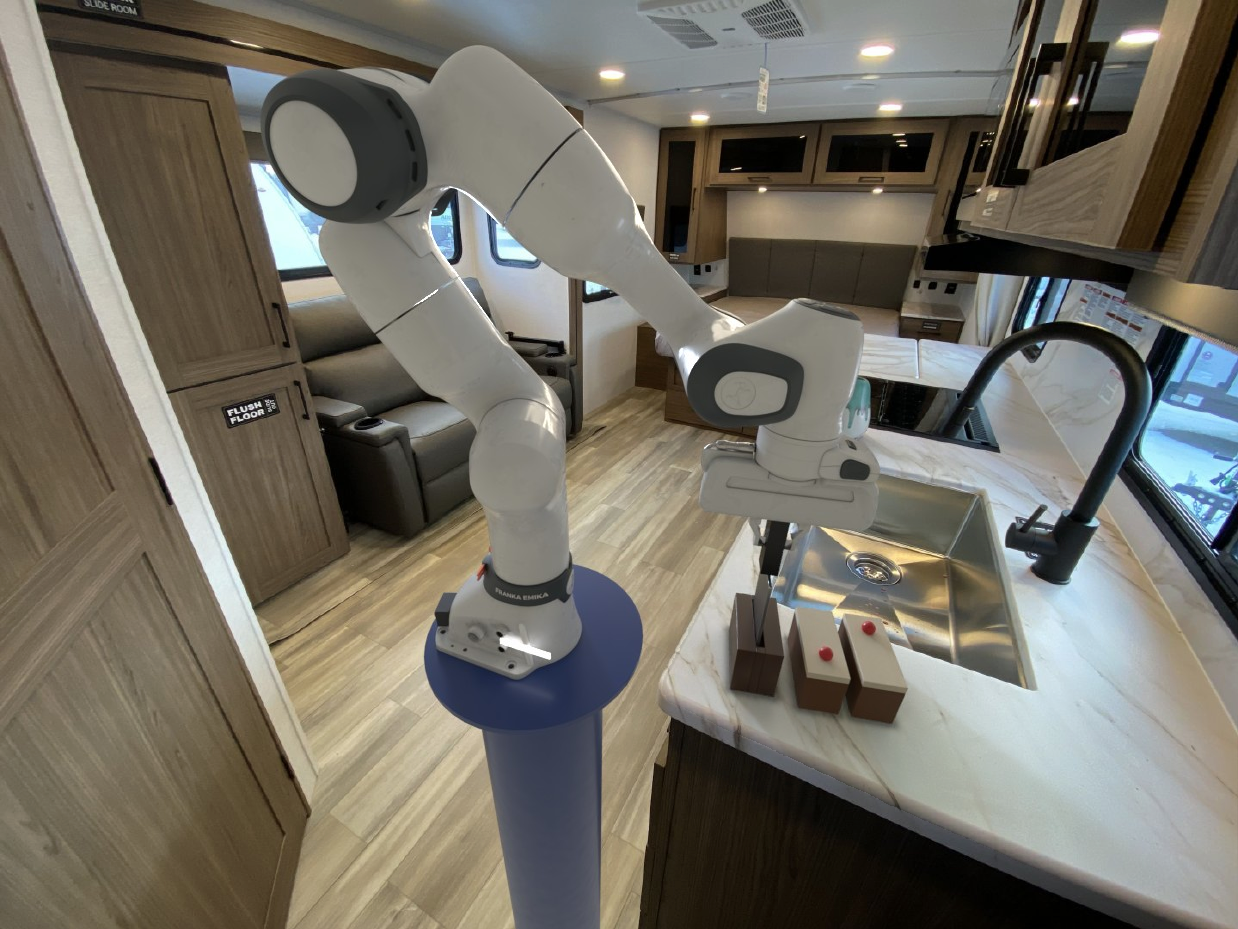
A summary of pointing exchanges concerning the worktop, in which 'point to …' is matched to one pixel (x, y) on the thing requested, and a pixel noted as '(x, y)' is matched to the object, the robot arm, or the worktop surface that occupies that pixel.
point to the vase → (858, 410)
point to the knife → (768, 571)
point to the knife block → (754, 648)
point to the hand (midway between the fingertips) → (773, 545)
